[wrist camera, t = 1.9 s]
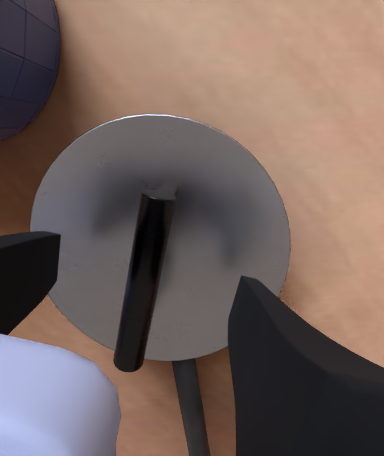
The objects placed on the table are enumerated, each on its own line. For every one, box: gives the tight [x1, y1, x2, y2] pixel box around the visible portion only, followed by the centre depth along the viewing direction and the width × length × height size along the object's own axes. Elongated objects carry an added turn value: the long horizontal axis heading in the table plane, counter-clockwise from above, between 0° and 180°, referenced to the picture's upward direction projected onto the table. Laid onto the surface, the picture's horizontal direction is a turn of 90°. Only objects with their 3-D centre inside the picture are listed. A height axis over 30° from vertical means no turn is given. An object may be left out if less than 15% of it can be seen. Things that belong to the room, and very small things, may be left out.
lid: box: [30, 114, 291, 372], centre depth 13 cm, size 12×12×5 cm
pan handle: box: [172, 358, 210, 456], centre depth 19 cm, size 11×1×1 cm, turn 8°
